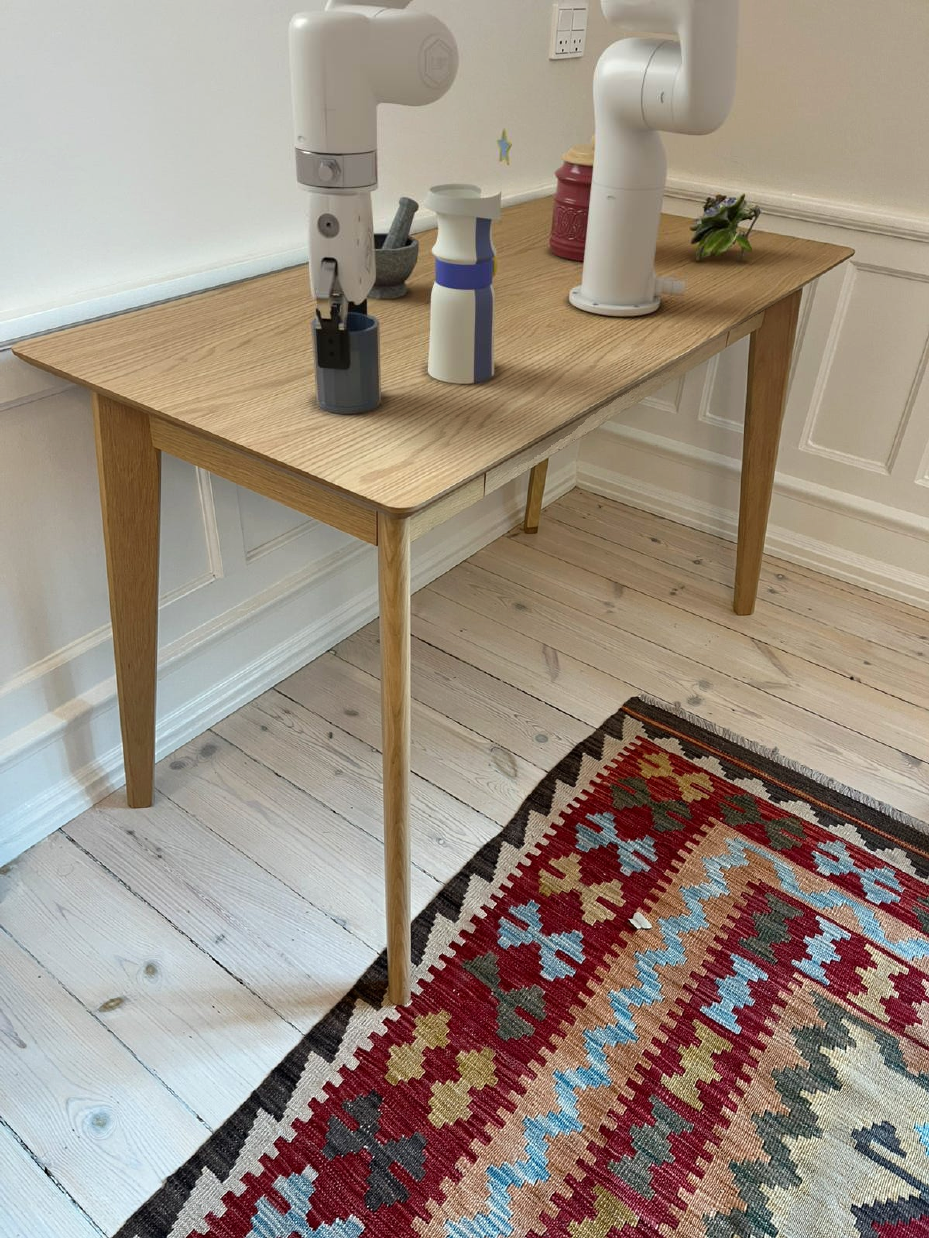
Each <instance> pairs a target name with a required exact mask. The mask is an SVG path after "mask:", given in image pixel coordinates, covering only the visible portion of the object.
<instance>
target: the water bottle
mask: <svg viewBox="0 0 929 1238" xmlns="http://www.w3.org/2000/svg"><path fill="white" fill-rule="evenodd" d="M496 144H497V145H498V148H499V160H498V162H499V163H502V162H503V160H504V162H505V163H506V165H508V166H509V165H510V157H509V150H511V148H512V146H513V144H512V142H510V141H508V138H507V133H506V129H505V128H503V129H502V134H501V138H496ZM501 204H502V191H499V193H497V194H496V195H492V196H488V197H482V189H481V188H480V187H479V186H477V185H475V184H471V183H457V182H456V183H445V184H444V183H443V184H438V185H434V186H432V187H431V186H430V188H429V189H428V192H427V194H426V196H425V199H424V201H423V204H422V205H423V207H424V208H425V209H427V210H429V211H432V212H434V213H435V216H436V221H437V229H438V230H437V237H436V242H435V244H434V245H433V246H432V248H431V253H432V255H434V257H435V269H434V271H435V273H434V275H435V279H434V283H433V285H432V289H431V295H430V317H429V319H430V320H429V321H430V322H429V323H430V324H429V330H430V331H429V347H428V361H427V373H428V375H429V376H431V378H433V379H435V380H438V381H440V382H445V383H448V384H458V385H459V384H462V385H463V384H464V385H466V384H476V383H482V382H484V381H488V380H490V379H491V378H492V377H493V376H494V375H495V319H496V318H495V317H496V315H495V314H496V293H495V287H494V284H493V278H495V276H496V275H497V272H498V259H497V254H498V251H497V249H496V247H495V245H494V242H493V236H492V233H493V232H492V231H493V230H492V229H493V224H494V223H493V222H494V221H499V225H500V226H502V217H501V215H502V214H501V208H502V207H501V206H502V205H501Z"/></svg>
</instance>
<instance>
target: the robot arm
mask: <svg viewBox="0 0 929 1238" xmlns="http://www.w3.org/2000/svg"><path fill="white" fill-rule="evenodd" d="M412 1H413V0H327V2H326V5H325V6H324V9H323V10H321V9H319V10H316V9H315V10H314V9H313V10H309V9H308V10H303V11H299V12H297V13H295V14H294V15H293V16H292V17H291V19H290V21H289V24H288V30H287V31H288V33H287V34H288V36H287V37H288V55H289V71H290V72H289V73H290V90H291V106H292V107H291V108H292V123H293V136H294V137H293V138H294V157H295V173H296V175H295V176H296V187H297V188H298V189H300V190H302V191H305V192H307V213H306V218H307V247H308V250H307V251H308V252H307V253H308V267H309V268H308V271H309V273H308V274H309V284H310V291H311V292H310V293H311V297H312V299H314V301H315V302H316V308H315V318H316V341H317V359H318V366H319V367H320V368H329V369H343V370H347V369H349V368H350V366H351V356H350V328H346V322H347V312H357V313H363V314H368V297H367V295H368V293H369V292H370V290H371V288H372V287H373V285H374V283H375V279H376V267H375V249H374V233H375V232H374V217H373V216H374V215H373V205H372V194H371V193H372V192H375V191H377V190H378V189H379V172H378V171H379V169H378V165H379V164H378V162H379V161H378V159H379V158H378V112H377V111H378V105H380V104H393V105H401V106H408V107H422V106H428V105H430V104H433V103H434V102H436V101H439V100H440V99H441V98H443V97H444V95H446V93H448V92H449V90H450V89H451V87H452V86H453V84H454V82H455V80H456V77H457V74H458V69H459V63H460V62H459V60H460V59H459V57H460V56H459V48H458V44H457V42H456V39H455V37H454V35H453V33H452V31H451V30H450V28H449V27H448V25H446V24H445V22H443V21H442V20H441V19H439V18H438V17H437V16H435V15H432V14H430V13H428V12H425V11H421V10H415V9H408V8H407V7H408V6H409V4H410V3H411V2H412ZM599 1H600V6H601V10H602V14H603V16H604V18H605V20H606V21H607V22H608V23H609V24H610V25H611V26H612V27H615V28H618V29H620V30H625V31H632V32H640V33H650V34H651V33H654V34H664V35H675V36H678V39H679V40H674V39H666V38H654V37H639V36H638V37H628V38H623V39H619V40H617V41H615V42H613V43H612V44H610V45H609V46H608V47H607V48H606V49H605V50H604V51H603V52H602V54H601V55H600V57H599V58H598V61H597V63H596V66H595V69H594V73H593V78H592V79H593V81H592V96H593V98H592V100H593V113H594V134H595V152H594V165H593V175H592V184H591V194H590V204H589V215H588V225H587V235H586V245H585V255H584V261H583V264H582V265H583V267H582V276H581V277H582V278H581V284H579V285H576V286H574V287H573V288H571V290H569V294H568V295H569V296H568V300H569V303H570V304H571V305H572V306H574V307H576V308H577V309H579V310H582V311H584V312H587V313H591V314H596V315H601V316H609V317H636V316H637V317H638V316H643V315H649V314H651V313H654V312H655V311H657V310H658V309H659V308H660V305H661V304H660V303H661V295H670V296H676V297H684V296H685V294H686V287H687V281H686V280H676V278H675V277H659V275H657V273H656V270H655V267H654V266H655V265H654V264H655V259H656V258H655V257H656V252H657V251H656V250H657V244H658V237H659V229H660V224H661V217H662V216H661V214H662V208H663V201H664V195H665V194H664V193H665V187H666V183H667V174H668V162H667V161H668V159H667V155H666V150H665V147H664V144H663V141H662V138H661V136H660V135H661V134H660V132H665V133H673V134H679V135H688V136H706V135H710V134H712V133H715V132H716V131H717V130H719V129H720V128H721V127H722V125H723V124H724V123H725V121H726V120H727V119H728V116H729V114H730V112H731V110H732V107H733V103H734V99H735V93H736V86H737V74H738V72H737V71H738V52H739V51H738V50H739V49H738V45H739V19H740V18H739V17H740V0H599ZM406 8H407V9H406ZM659 131H660V132H659ZM338 312H340V314H338Z"/></svg>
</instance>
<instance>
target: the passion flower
mask: <svg viewBox="0 0 929 1238" xmlns="http://www.w3.org/2000/svg"><path fill="white" fill-rule="evenodd" d="M727 197H728V196H727V195H726V194H725V195H722V194H719V193H718V194H715V196H714V197H711V196H708V197H707V198H706V199H705V203H704V205H702V208H703V213H702V215H698V218H696V220H694V221H695V224H694V225H690V227H689V231H691V232H694V234H693V237H692V238H691V240H690V244H691V245H696V244H698V245H697V247H696V249H695V256H694V257H695V258H696V261H697V262H699V260H700V257H702V258H703V259H705V258H707V257H709V256H711V255H714V256H719V255H721V254H723V253H724V252H726V251H728V249H730V248H731V247H732V246H733V245H735V244H736V243H737V244H738V246H739V247H740V248H741V251H740V262H743V257H744V255H745V251H747V252H748V253H752V252H753V249H752V245H751V243H750V241H749V239H748V238H749V235H750V233H751V231H752V229H753V227H754V225H755V224H756V222H757V220H758V219H759V217H760V214H761V213H762V211H761V209H760V208H761V207H760V205H758V204H757V203H755V204H754V205H753V206H752V205H751V206H748V209H749V212H746V211H745V208H746V205H747V204H748V203H747V201H746V200H745V199H746V193H745V192H744V193H742V194H740V195H739V196H738V198H736V197H735V196H730V197H728V198H729V199H728V200H727V201H726V199H727ZM747 220H749V221H752V220H753V221H752V223H751V224H750V227H749V228H748V230H747V232H745V231H744V230H740V229H738V227H739V224H740V223H741V222H743V221H747ZM737 229H738V230H737Z"/></svg>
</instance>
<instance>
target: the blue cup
mask: <svg viewBox="0 0 929 1238" xmlns="http://www.w3.org/2000/svg"><path fill="white" fill-rule="evenodd" d="M338 314H340V312H338ZM380 327H381V326H380V321H379V320H378V318H377V317H375V316H373V315H370V314H368V313H367V314H363V313H357V312H347V322H346V328H350V356H351V366H350V368H349V369H347V370H343V369H329V368H320V367H319V366H318V359H317V341H316V317H314V318H313V319H312V321H311V322H310V329H311V330H310V331H311V342H312V343H311V344H312V358H313V372H314V385H315V396H316V403H317V405H318V407H319V408H320V409H322V410H324V411H326V412H329V413H333V414H341V415H356V414H364V413H367V412H370V411H372V410H375V409H376V408H378V407H379V406H380V405H381V402H382V374H381V373H382V371H381V369H382V368H381V331H380V330H381V329H380Z"/></svg>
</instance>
